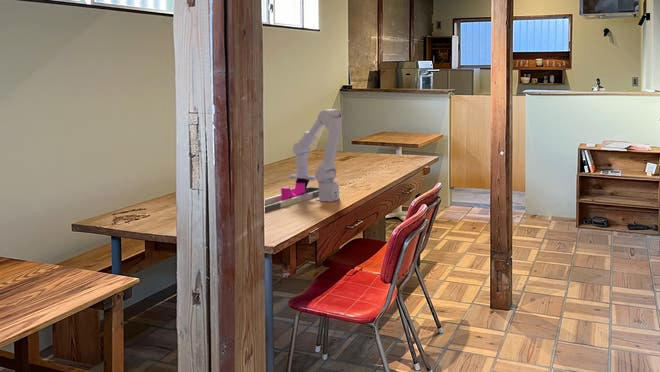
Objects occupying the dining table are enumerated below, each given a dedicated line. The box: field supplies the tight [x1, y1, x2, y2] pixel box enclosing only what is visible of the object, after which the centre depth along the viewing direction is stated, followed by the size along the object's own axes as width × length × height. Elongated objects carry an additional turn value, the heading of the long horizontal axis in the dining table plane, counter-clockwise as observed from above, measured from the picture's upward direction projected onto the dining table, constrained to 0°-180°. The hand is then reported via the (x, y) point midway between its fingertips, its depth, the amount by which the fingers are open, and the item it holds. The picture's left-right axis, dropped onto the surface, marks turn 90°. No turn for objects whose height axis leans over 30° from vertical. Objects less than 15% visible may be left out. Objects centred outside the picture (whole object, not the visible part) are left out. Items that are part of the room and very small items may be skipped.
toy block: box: [280, 182, 305, 201], centre depth 339 cm, size 15×6×8 cm, turn 149°
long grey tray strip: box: [264, 186, 319, 213], centre depth 338 cm, size 12×50×2 cm, turn 146°
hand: (302, 193), depth 348 cm, fingers closed
